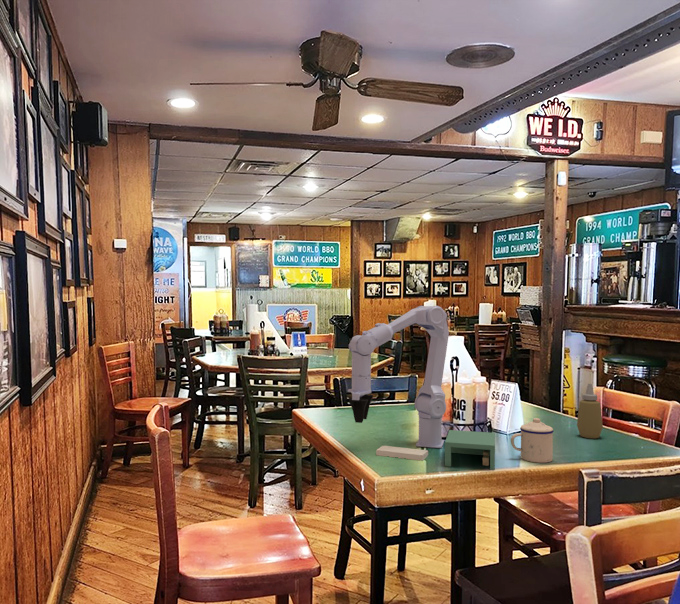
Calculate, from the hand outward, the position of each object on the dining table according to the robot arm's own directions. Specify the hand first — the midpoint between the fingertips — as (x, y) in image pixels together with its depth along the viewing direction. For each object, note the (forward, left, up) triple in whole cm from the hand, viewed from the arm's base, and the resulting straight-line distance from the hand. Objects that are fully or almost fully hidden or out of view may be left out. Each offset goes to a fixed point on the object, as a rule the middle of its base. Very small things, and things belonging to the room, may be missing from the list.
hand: (361, 420), depth 165 cm
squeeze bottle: (-42, +70, -10) cm, 82 cm away
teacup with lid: (-7, +49, -10) cm, 50 cm away
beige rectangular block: (0, +13, -10) cm, 16 cm away
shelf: (-1, +32, -9) cm, 33 cm away
